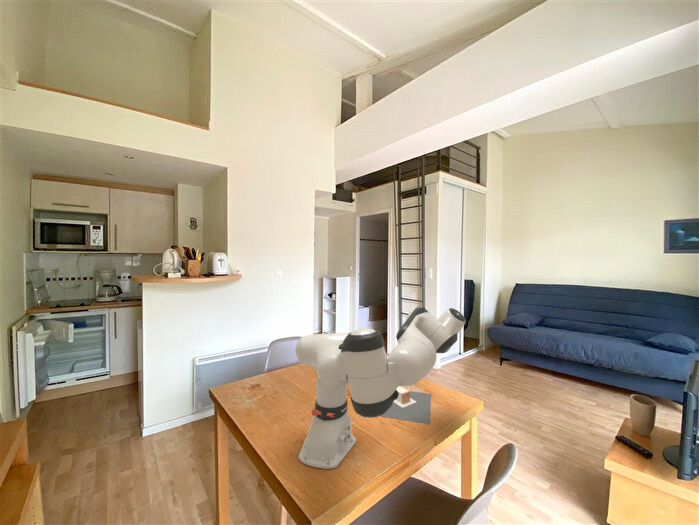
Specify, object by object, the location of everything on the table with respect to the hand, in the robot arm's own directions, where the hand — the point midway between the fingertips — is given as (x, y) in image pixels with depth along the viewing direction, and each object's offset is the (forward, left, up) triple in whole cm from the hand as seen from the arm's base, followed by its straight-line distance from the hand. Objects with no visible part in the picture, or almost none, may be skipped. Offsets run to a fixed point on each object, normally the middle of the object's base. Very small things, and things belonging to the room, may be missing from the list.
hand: (420, 358), depth 119 cm
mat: (+4, +6, -23) cm, 25 cm away
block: (+10, +13, -21) cm, 26 cm away
